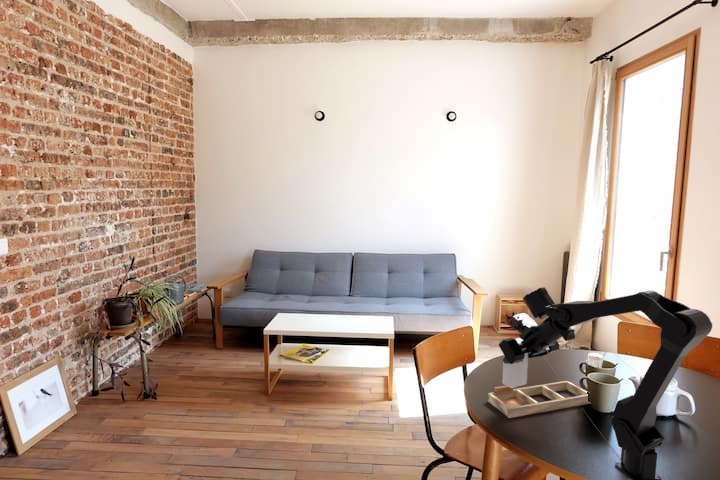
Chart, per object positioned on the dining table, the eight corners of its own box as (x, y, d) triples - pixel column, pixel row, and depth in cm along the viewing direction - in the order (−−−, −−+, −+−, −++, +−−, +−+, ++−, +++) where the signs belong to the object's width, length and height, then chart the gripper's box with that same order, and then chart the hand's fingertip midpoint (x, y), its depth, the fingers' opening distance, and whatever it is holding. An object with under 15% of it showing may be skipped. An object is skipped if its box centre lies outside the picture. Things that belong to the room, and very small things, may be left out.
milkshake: (606, 384, 144) (608, 354, 142) (588, 382, 145) (590, 353, 144) (601, 378, 148) (603, 349, 147) (584, 377, 149) (586, 348, 148)
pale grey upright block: (526, 383, 128) (528, 341, 126) (512, 388, 125) (514, 344, 123) (516, 379, 131) (518, 337, 129) (502, 383, 128) (504, 341, 126)
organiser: (592, 403, 131) (593, 389, 131) (509, 418, 122) (509, 404, 122) (566, 388, 141) (567, 376, 140) (487, 401, 132) (488, 388, 131)
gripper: (552, 302, 126) (519, 329, 137) (505, 311, 117) (473, 340, 128) (576, 337, 120) (539, 363, 131) (529, 349, 111) (493, 376, 122)
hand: (511, 359), depth 128 cm, fingers closed on pale grey upright block, 6 cm apart
